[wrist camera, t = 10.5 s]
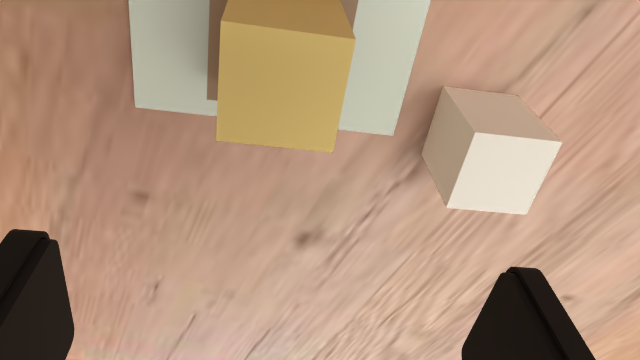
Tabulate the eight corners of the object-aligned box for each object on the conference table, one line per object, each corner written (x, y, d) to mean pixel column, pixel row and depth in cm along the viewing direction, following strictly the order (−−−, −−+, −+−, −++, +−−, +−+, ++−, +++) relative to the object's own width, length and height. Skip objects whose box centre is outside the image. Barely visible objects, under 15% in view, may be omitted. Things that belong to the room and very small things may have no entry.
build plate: (446, -72, 25) (450, -71, 24) (391, 131, 31) (393, 135, 31) (123, -130, 22) (120, -130, 22) (137, 103, 29) (135, 107, 28)
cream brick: (517, 95, 31) (562, 141, 26) (489, 160, 33) (526, 214, 28) (443, 85, 30) (475, 132, 25) (421, 153, 33) (446, 207, 28)
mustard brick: (339, -2, 23) (355, 39, 18) (322, 94, 26) (333, 152, 21) (234, -17, 22) (220, 20, 17) (228, 83, 25) (216, 140, 20)
